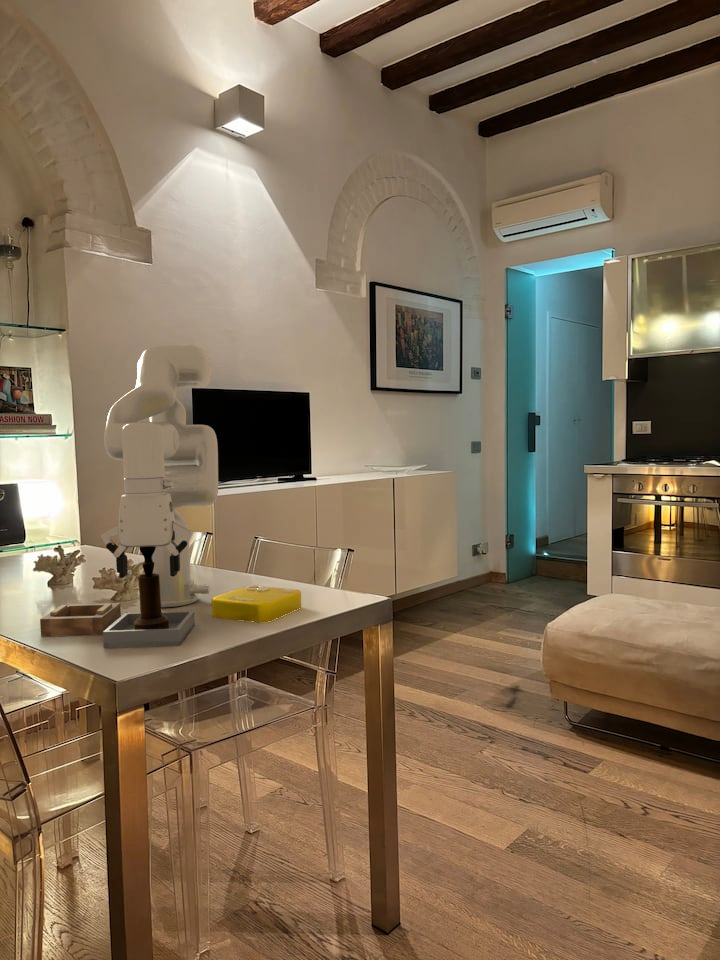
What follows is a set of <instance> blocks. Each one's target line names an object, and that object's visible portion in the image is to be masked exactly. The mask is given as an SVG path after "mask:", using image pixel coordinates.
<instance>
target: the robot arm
mask: <svg viewBox="0 0 720 960" xmlns="http://www.w3.org/2000/svg"><path fill="white" fill-rule="evenodd" d="M211 365H212V364H211V361H210V358H209V356H208V354H207V353H206V352H205V350H203V348H202V347H199V346H197V345H191V344H175V345H174V344H171V345H167V344H165V345H163V344H161V345H153V346H150V347H148V348H146V349H145V350H144V351H143V352H142V354H141V356H140V358H139V359H138V361H137V366H136V368H137V369H136V370H137V371H136V372H137V379H136V384H135V388H134V389H132V390H130V391H129V392H127V393H126V394H125V395H123V396H122V397H120V399H118V400H117V401H116V402H114V404H113V405H112V406H111V408H110V410H109V412H108V415H107V419H106V424H105V429H104V436H103V444H104V449H105V453H106V454H107V455H108V456H109V458H111V459H113V460H115V461H122V462H123V487H124V488H123V489H124V494H122V495H121V496H120V503H119V508H118V509H119V510H118V511H119V512H118V524H117V525H116V526H114V527H112V528H110V529H108V530H107V531H104V532H102V534H100V538H101V540H102V542H103V543H104V545H105V547H106V549H107V550H108V551H109V552H110V553H112V555H113V557H115V561H116V563H115V564H116V573H117V574H119V575H118V576H119V579H123V578H124V577H127V576H128V574H129V571H128V567H129V566H128V555H126V552H127V550H128V548H139V547H156V549H155V551H154V553H153V555H152V560H153V562H154V569H153V573H156V574H159V580H160V598H161V608H172V607H173V608H174V607H181V606H187V605H191V604H193V603H195V602H197V601H198V599H199V594H201V595H208V594H210V589H211V588H210V585H208V584H207V585H206V584H196V583H195V579H192V578H191V577H192V576H191V558H190V557H191V556H190V555H191V553H190V541H191V538H192V536H193V534H194V532H193V530H191V529H189V524H188V522H187V520H186V519H185V518H184V516H183V515H182V514H181V513H180V512H179V511H178V510H177V508H187V507H205V506H208V507H209V506H211V505H213V504H215V502H216V501H217V498H218V496H219V495H218V493H219V450H218V449H219V447H218V446H219V445H218V438H217V434H216V432H215V430H214V429H213V428H212V427H211V426H209V425H206V424H187V410H186V408H185V406H184V405H183V404H182V402H181V400H179V398H177V389H201V388H202V389H203V388H206V387H208V385H209V384H210V381H211V378H212V366H211ZM146 419H149V421H142V420H146ZM117 534H118V535H117ZM115 535H117V536H118V543H119V545H117V544H116V543H115V542H114V540H113V539H112V537H113V536H115Z"/></svg>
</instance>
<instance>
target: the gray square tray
mask: <svg viewBox="0 0 720 960" xmlns="http://www.w3.org/2000/svg"><path fill="white" fill-rule="evenodd" d="M161 613H162V614H163V615H165V616H166V617H168V620H169V629H145V630H134V621H135V620H137V618H138V617H140V616H141V614H140V612H125V613H123V614H121V617H120V618H119V619H117V620H116V621H115V622H114V623H113V624H111V625H110V626H109V627H108V628H107V629H106V630H104V631H103V635H102V645H103V649H111V648H113V649H115V648H118V649H119V648H141V647H142V648H144V647H145V648H146V647H147V648H149V647H177V646H178V647H179V646H181V644H182V643H183V642H184V641H185V639H186V638H187V637H188V636H189V634H190V633H191V631H193V629H194V627H195V626H196V619H195V617H196V616H195V614H196V613H195V610H185V611H184V610H183V611H182V610H181V611H179V610H178V611H161Z"/></svg>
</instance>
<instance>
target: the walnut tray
mask: <svg viewBox="0 0 720 960" xmlns="http://www.w3.org/2000/svg"><path fill="white" fill-rule="evenodd" d="M121 607H122V606H121V602H114V603H113V602H112V603H111V602H110V603H108V602H107V603H104V602H103V603H78V604H76V603H75V604H72V603H71V604H61V605H60V606H58V607H56V608H55V609H53V610H51V611H49V613H48V614H45V616H43V617H41V618H39V623H40V624H39V625H40V637H41V638H42V637H43V638H44V637H45V638H47V637H49V638H51V637H72V636H73V637H74V636H75V637H76V636H77V637H79V636H82V637H83V636H103V631H104V630H106V629H107V628H108V627H109V626H110V625H111V624H113V623H114V622H115V621H116V620H117V619H119V618H120V617H121V616H122V612H121V609H122V608H121Z"/></svg>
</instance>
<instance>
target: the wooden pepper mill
mask: <svg viewBox="0 0 720 960" xmlns="http://www.w3.org/2000/svg"><path fill="white" fill-rule="evenodd" d="M138 548H139V551H140V553H141V555H142V556H143V558H144V559H143V560H144V561H143V562H142V563H141V566H142V569H143V573H142V574H139V575H138V577H137V578H138V579H137V580H138V594H139V597H138V598H139V611H140V612H139V613H140V614H141V616H140V617H138V618H137V620H135V621H134V630H145V629H169V620H168V617H166V616H165V615H163V614H162V613H161V612H162V607H161V598H160V580H159V574H156V573H153V569H154V562H153V560H152V555H153V553H154V551H155V549H156V547H138Z"/></svg>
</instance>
